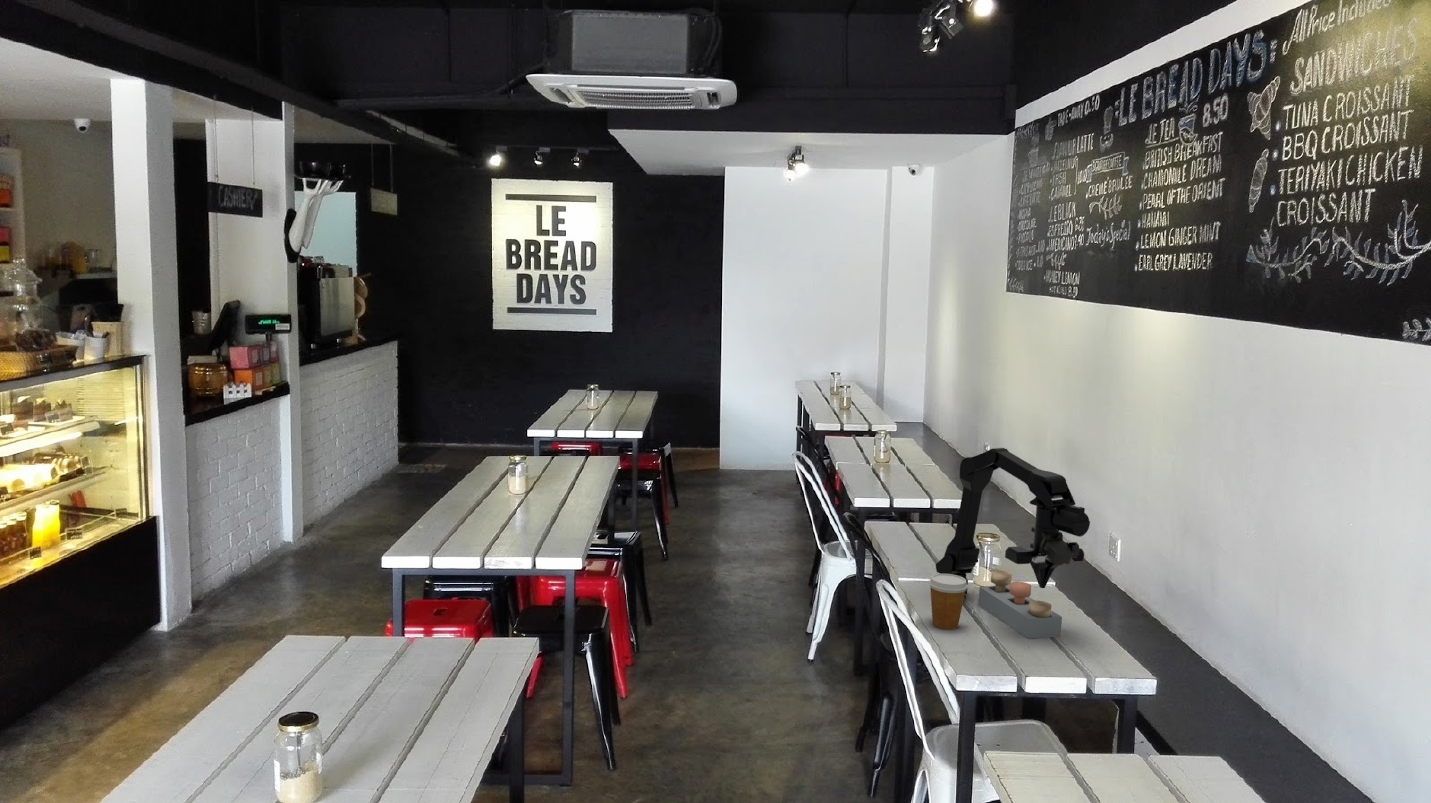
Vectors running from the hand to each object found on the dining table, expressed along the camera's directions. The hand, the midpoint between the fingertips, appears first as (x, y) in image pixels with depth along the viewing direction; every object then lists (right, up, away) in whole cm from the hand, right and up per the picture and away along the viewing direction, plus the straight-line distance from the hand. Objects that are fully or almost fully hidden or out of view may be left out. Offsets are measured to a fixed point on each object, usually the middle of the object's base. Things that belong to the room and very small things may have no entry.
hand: (1042, 587), depth 250 cm
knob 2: (0, -11, +2) cm, 12 cm away
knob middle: (-3, -8, +10) cm, 13 cm away
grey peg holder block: (-3, -10, +11) cm, 15 cm away
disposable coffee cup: (-23, -11, +5) cm, 25 cm away
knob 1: (-5, -7, +19) cm, 21 cm away
